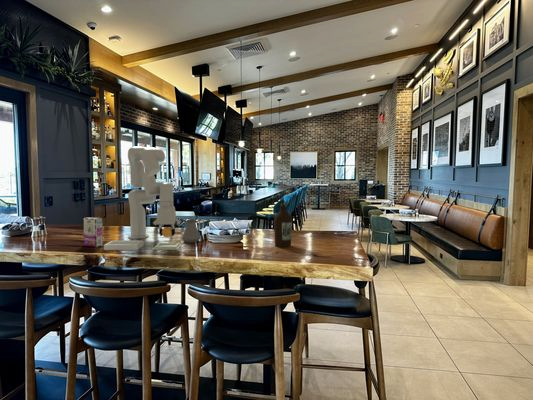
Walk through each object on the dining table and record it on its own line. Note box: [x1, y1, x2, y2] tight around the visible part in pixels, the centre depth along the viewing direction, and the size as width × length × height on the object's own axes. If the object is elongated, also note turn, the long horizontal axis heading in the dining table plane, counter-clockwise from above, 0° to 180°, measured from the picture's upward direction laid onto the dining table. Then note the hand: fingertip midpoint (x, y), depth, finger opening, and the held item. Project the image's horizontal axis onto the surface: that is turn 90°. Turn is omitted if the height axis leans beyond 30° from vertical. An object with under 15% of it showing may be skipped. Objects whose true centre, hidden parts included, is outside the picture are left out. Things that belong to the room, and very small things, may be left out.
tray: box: [151, 242, 182, 251], centre depth 199 cm, size 13×14×1 cm
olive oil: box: [273, 203, 293, 249], centre depth 202 cm, size 11×11×25 cm
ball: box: [162, 226, 172, 238], centre depth 198 cm, size 6×6×6 cm
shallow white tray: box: [103, 239, 145, 251], centre depth 197 cm, size 12×18×3 cm, turn 94°
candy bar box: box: [83, 216, 104, 248], centre depth 202 cm, size 11×5×16 cm, turn 62°
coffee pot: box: [181, 214, 201, 244], centre depth 220 cm, size 21×12×15 cm, turn 176°
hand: (167, 235), depth 198 cm, fingers closed on ball, 5 cm apart
